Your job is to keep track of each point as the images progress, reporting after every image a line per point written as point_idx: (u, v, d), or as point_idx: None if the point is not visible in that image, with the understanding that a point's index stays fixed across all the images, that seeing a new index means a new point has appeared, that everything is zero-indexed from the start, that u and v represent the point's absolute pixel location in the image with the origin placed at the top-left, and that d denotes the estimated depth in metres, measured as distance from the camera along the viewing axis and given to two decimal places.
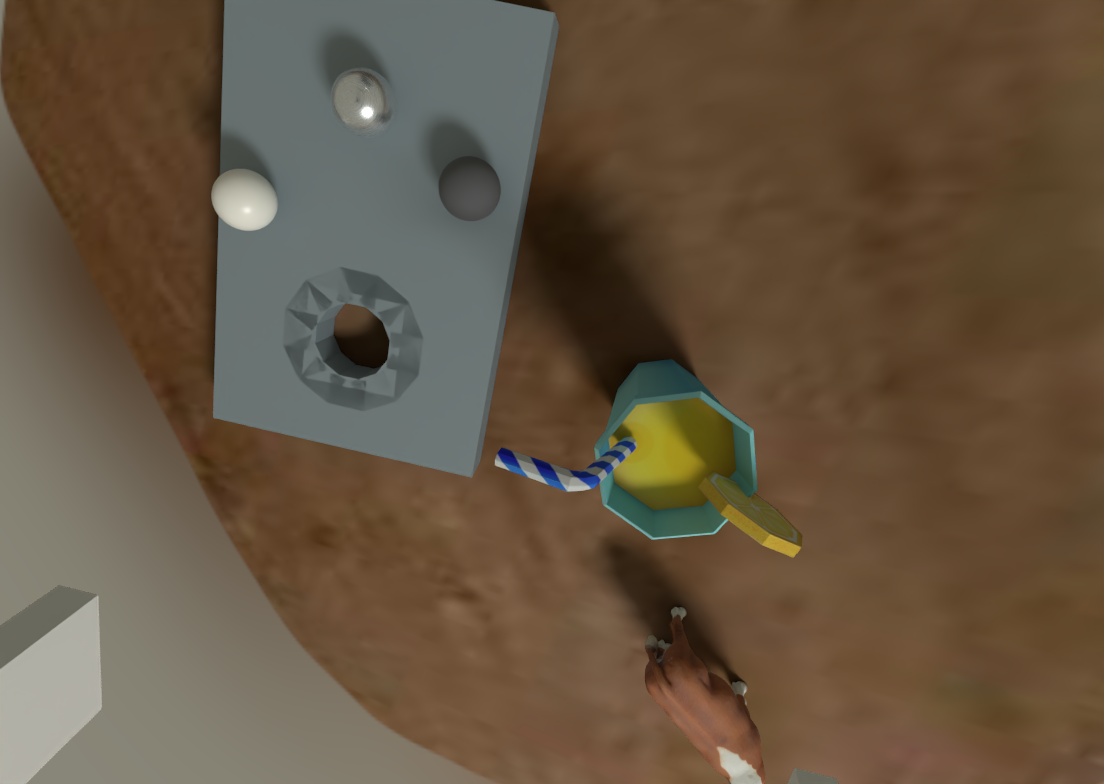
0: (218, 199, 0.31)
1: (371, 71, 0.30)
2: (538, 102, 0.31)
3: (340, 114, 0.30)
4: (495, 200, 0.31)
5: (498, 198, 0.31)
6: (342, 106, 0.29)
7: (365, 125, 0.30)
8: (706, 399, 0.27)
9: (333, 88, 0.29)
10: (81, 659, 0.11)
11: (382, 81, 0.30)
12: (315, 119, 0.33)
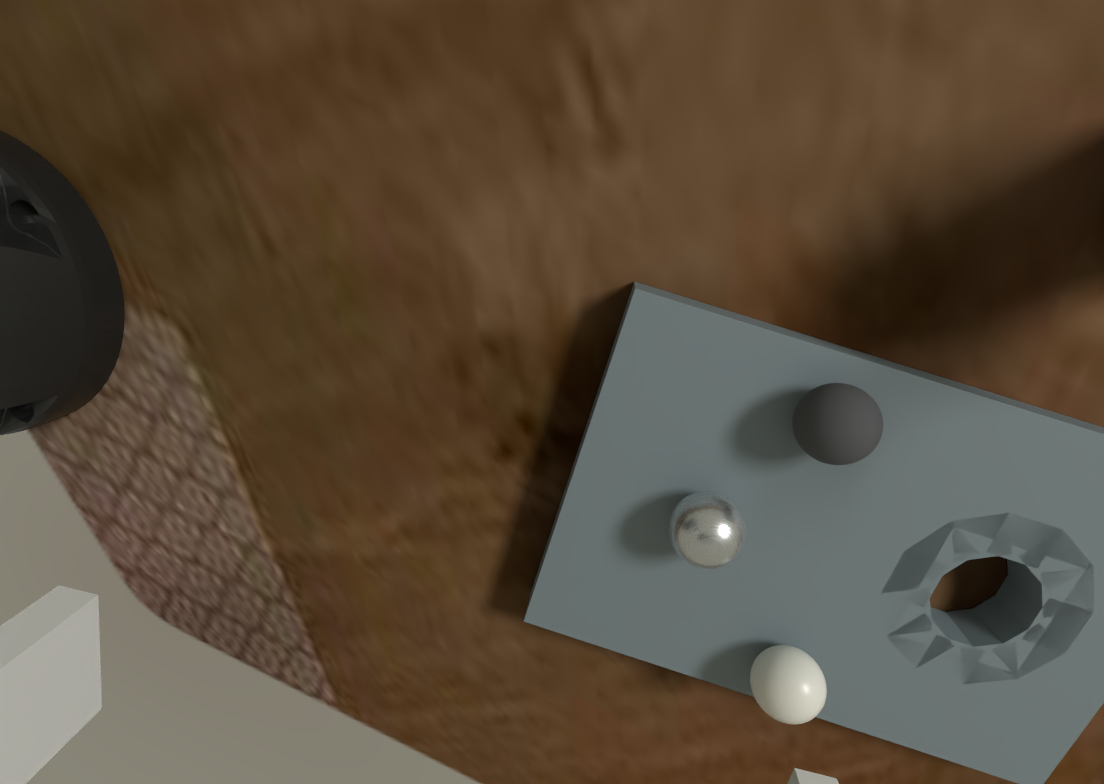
0: (793, 719, 0.26)
1: (679, 516, 0.25)
2: (732, 318, 0.24)
3: (725, 564, 0.24)
4: (864, 394, 0.23)
5: (859, 389, 0.23)
6: (718, 560, 0.24)
7: (741, 538, 0.24)
8: None
9: (694, 564, 0.25)
10: (81, 659, 0.11)
11: (692, 506, 0.25)
12: (702, 579, 0.28)
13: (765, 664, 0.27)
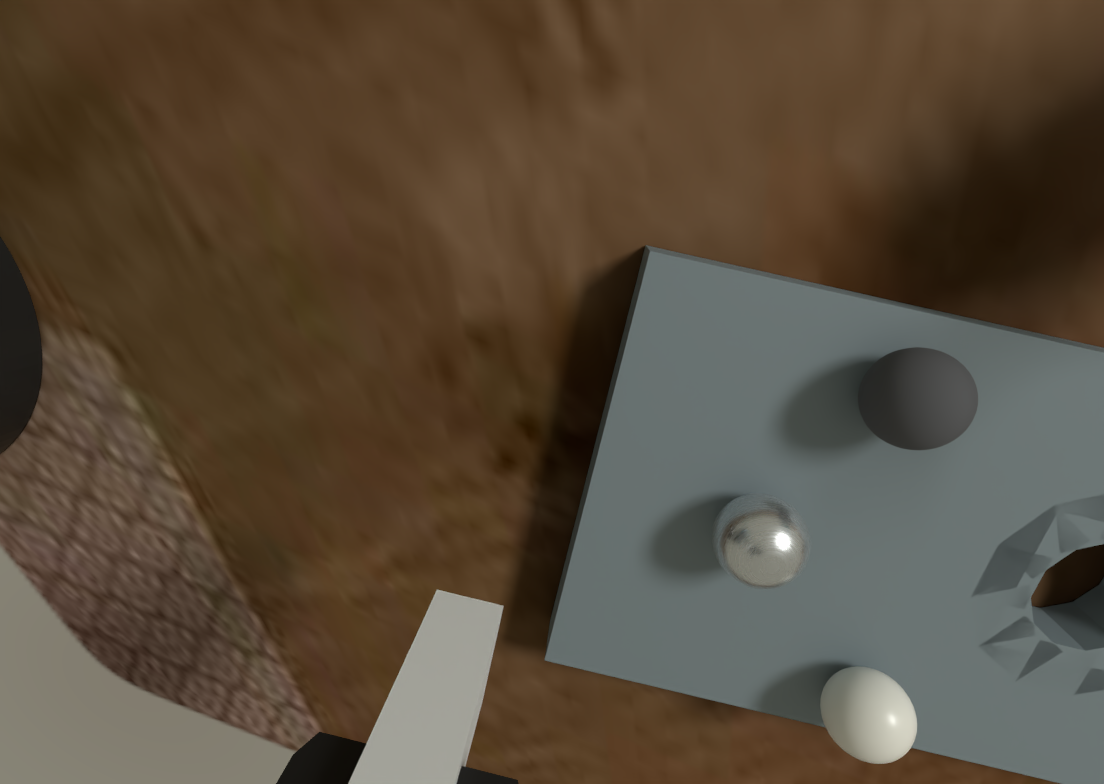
0: (880, 759, 0.21)
1: (725, 527, 0.20)
2: (772, 279, 0.20)
3: (787, 582, 0.20)
4: (951, 358, 0.18)
5: (943, 353, 0.18)
6: (780, 579, 0.19)
7: (805, 548, 0.20)
8: None
9: (748, 584, 0.20)
10: None
11: (741, 514, 0.20)
12: (754, 596, 0.23)
13: (840, 693, 0.22)
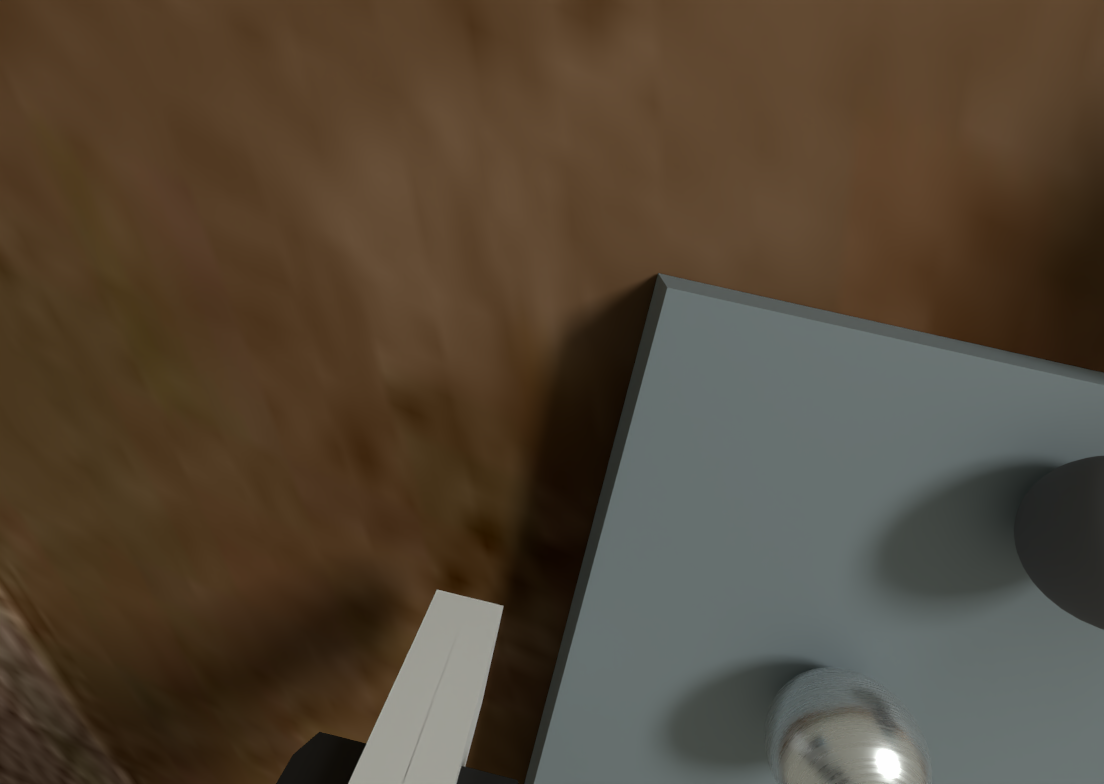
0: None
1: (791, 739, 0.12)
2: (870, 333, 0.12)
3: None
4: None
5: None
6: None
7: None
8: None
9: None
10: None
11: (817, 720, 0.12)
12: None
13: None
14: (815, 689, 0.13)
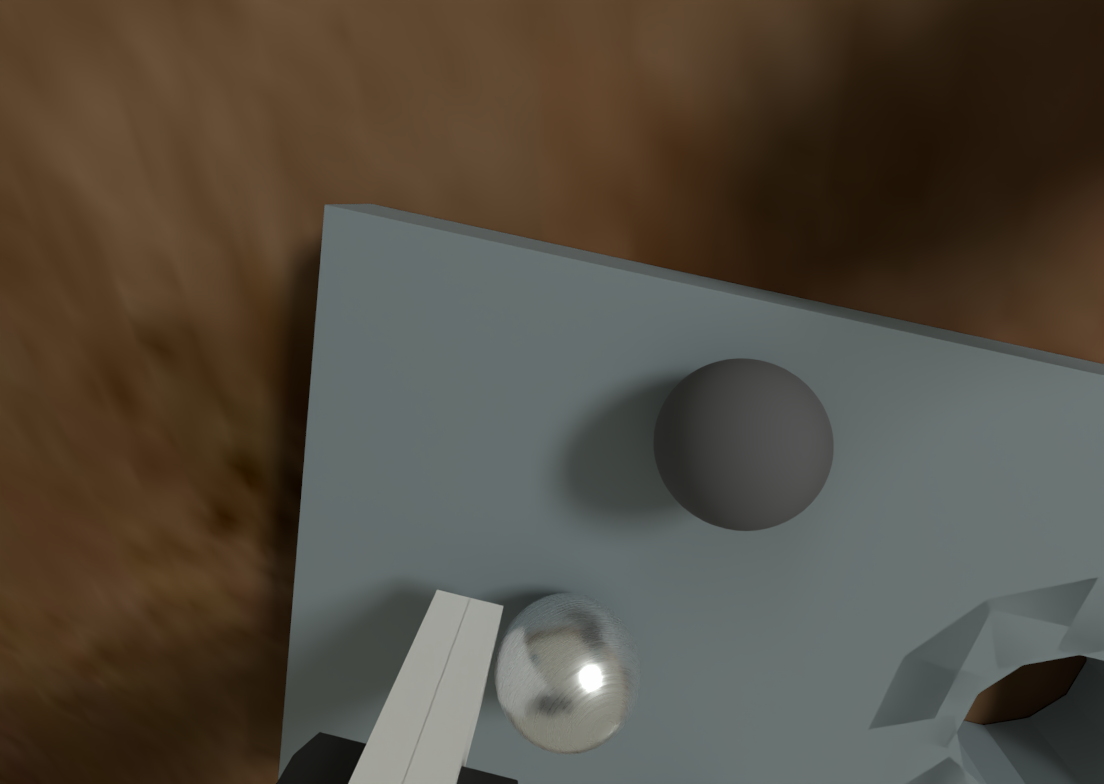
0: None
1: (521, 686, 0.12)
2: (522, 248, 0.12)
3: (620, 727, 0.13)
4: (787, 378, 0.10)
5: (776, 368, 0.11)
6: (613, 735, 0.12)
7: (638, 674, 0.13)
8: None
9: (567, 754, 0.13)
10: None
11: (542, 659, 0.12)
12: None
13: None
14: (535, 627, 0.13)
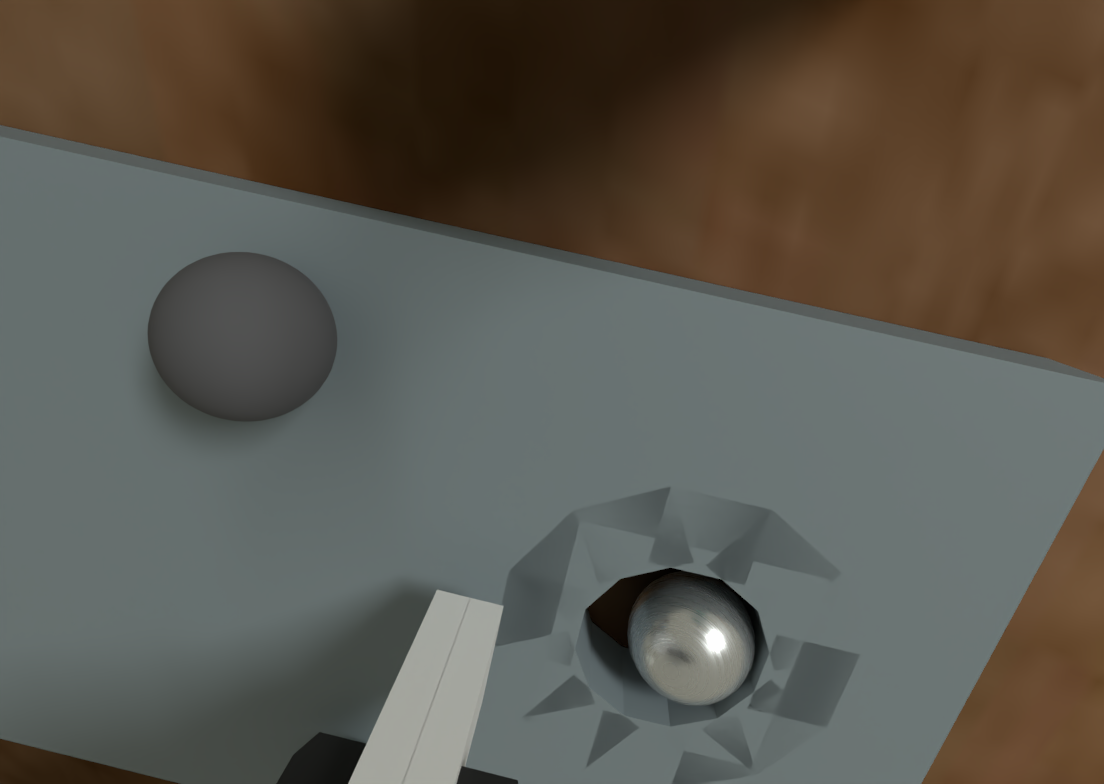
0: None
1: None
2: (74, 153, 0.12)
3: None
4: (254, 264, 0.11)
5: (255, 257, 0.11)
6: None
7: None
8: None
9: None
10: None
11: None
12: (201, 643, 0.16)
13: None
14: (740, 619, 0.15)
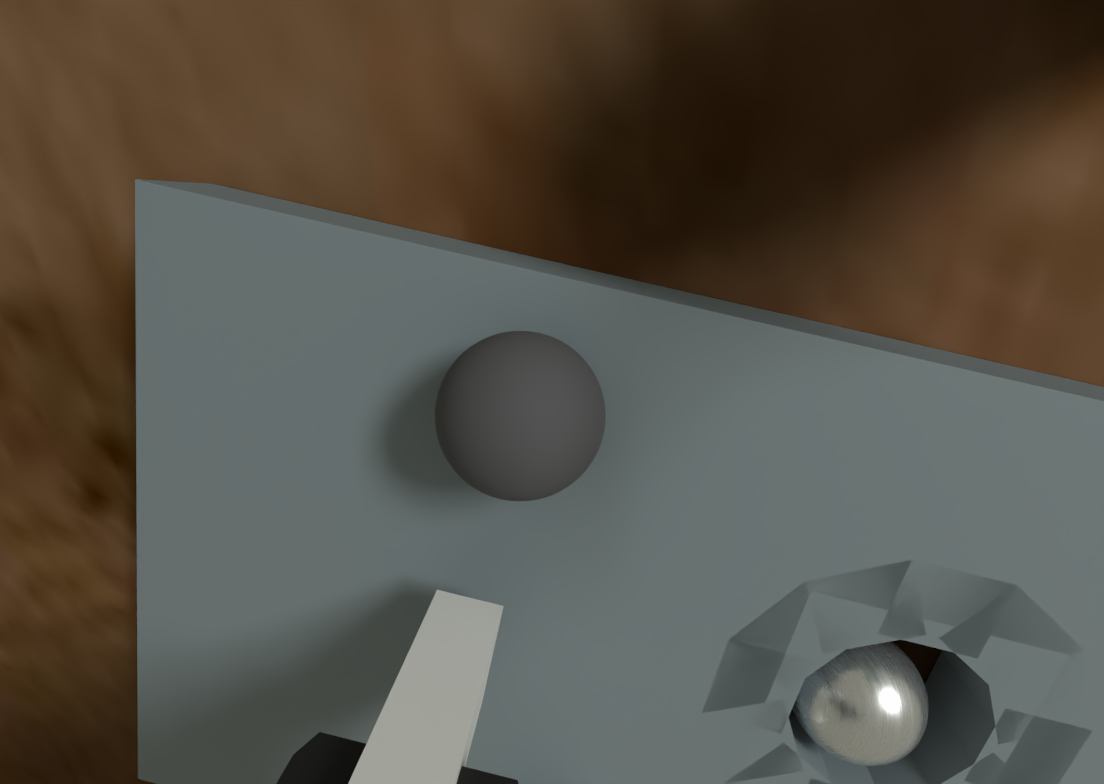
0: None
1: (925, 723, 0.14)
2: (327, 224, 0.12)
3: None
4: (549, 348, 0.11)
5: (544, 339, 0.11)
6: None
7: None
8: None
9: None
10: None
11: (922, 692, 0.14)
12: None
13: None
14: (901, 686, 0.14)
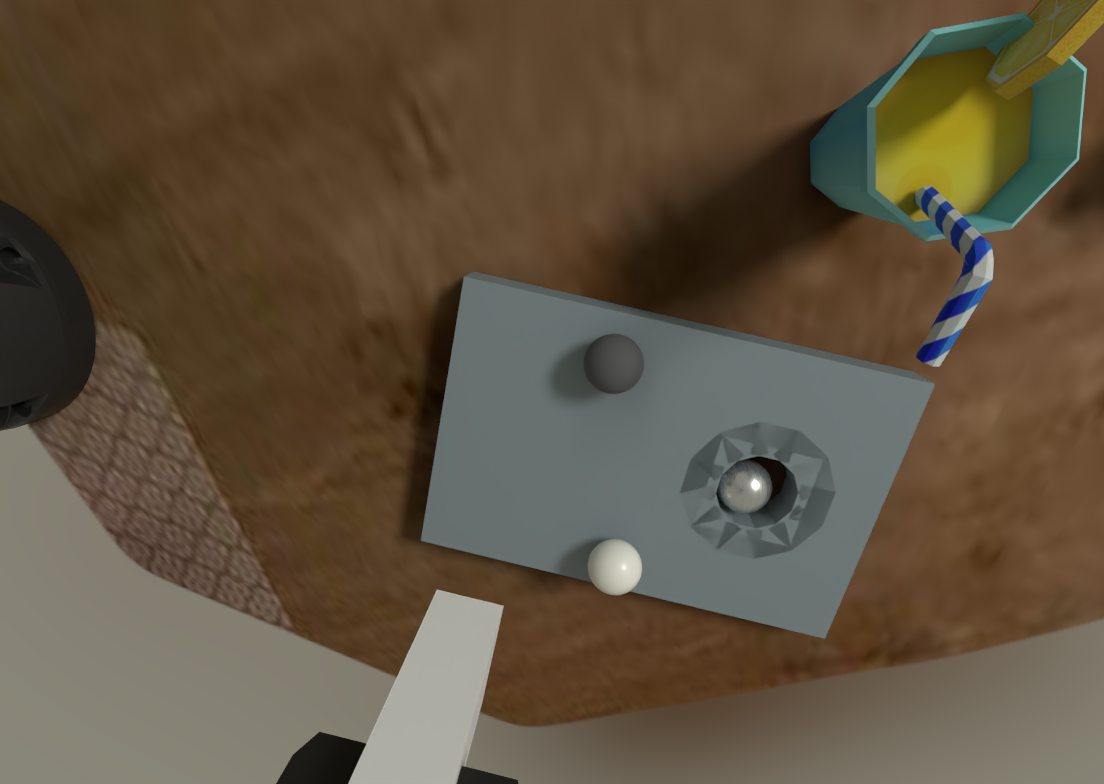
0: (613, 589, 0.34)
1: (768, 492, 0.35)
2: (537, 293, 0.33)
3: None
4: (626, 339, 0.31)
5: (623, 336, 0.31)
6: None
7: None
8: (879, 99, 0.21)
9: None
10: None
11: (767, 480, 0.35)
12: (548, 494, 0.36)
13: (594, 552, 0.35)
14: (757, 476, 0.35)
